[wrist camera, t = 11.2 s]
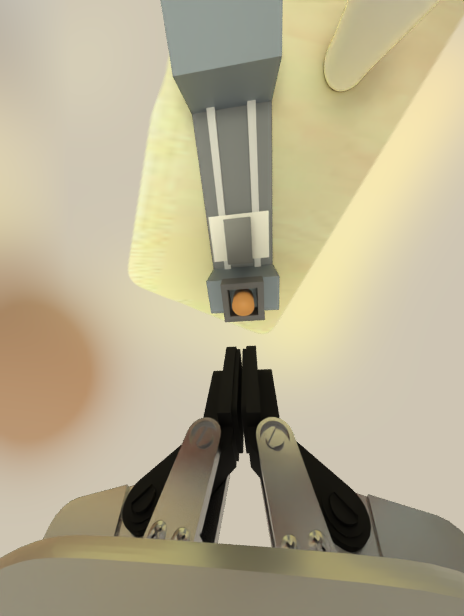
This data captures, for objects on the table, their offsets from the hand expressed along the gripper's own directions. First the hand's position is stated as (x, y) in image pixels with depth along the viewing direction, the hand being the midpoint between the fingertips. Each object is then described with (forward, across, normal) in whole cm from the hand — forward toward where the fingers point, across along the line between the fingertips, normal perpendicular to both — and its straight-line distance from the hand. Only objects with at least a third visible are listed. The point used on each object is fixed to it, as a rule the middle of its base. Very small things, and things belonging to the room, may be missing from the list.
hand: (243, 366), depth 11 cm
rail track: (+26, 0, -10) cm, 27 cm away
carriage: (+22, 0, -5) cm, 23 cm away
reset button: (+16, 0, +2) cm, 16 cm away
